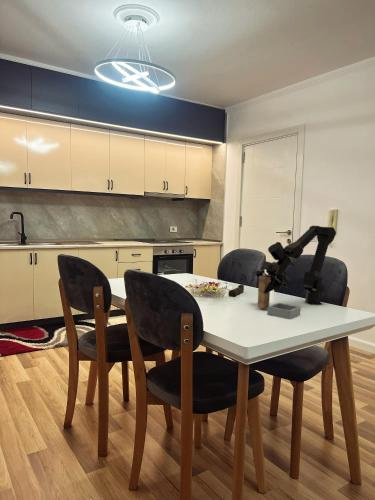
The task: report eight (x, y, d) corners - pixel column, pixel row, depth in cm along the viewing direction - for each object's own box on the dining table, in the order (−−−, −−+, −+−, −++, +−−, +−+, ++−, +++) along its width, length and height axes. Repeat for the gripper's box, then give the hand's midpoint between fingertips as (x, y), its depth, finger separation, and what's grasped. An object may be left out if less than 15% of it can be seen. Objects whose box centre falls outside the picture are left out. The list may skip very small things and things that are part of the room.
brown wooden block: (263, 305, 175) (265, 276, 173) (269, 307, 172) (270, 277, 170) (257, 306, 173) (259, 276, 172) (263, 308, 170) (264, 277, 169)
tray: (278, 310, 171) (278, 302, 170) (300, 314, 164) (300, 306, 164) (267, 314, 163) (267, 306, 162) (290, 319, 156) (290, 310, 156)
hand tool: (235, 298, 197) (235, 289, 196) (227, 296, 198) (228, 288, 198) (247, 292, 213) (248, 284, 213) (241, 291, 215) (241, 283, 215)
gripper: (258, 253, 180) (239, 277, 176) (287, 257, 164) (267, 283, 160) (270, 268, 185) (251, 292, 180) (299, 274, 169) (279, 300, 164)
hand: (261, 292), depth 171 cm, fingers closed on brown wooden block, 4 cm apart
